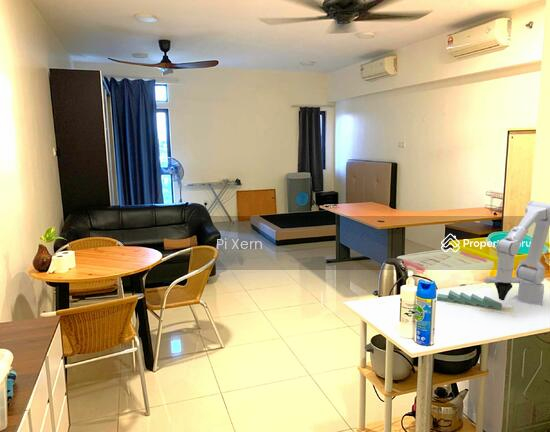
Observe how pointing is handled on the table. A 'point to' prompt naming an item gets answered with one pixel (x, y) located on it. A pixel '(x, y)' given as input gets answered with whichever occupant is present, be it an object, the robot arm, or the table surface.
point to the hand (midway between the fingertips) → (501, 299)
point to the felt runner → (503, 310)
